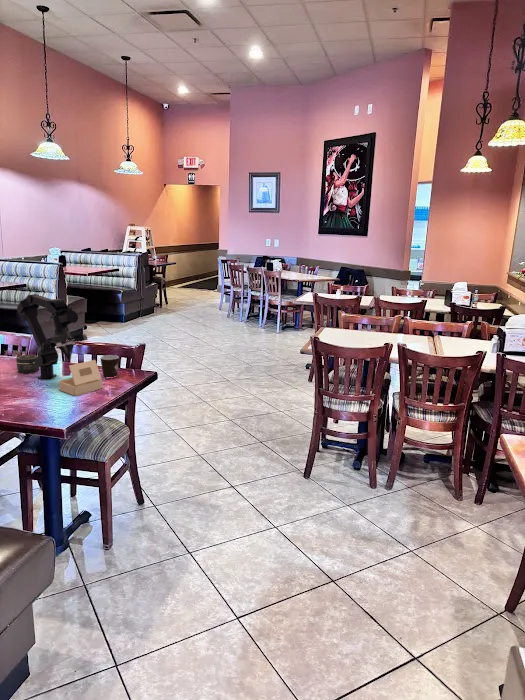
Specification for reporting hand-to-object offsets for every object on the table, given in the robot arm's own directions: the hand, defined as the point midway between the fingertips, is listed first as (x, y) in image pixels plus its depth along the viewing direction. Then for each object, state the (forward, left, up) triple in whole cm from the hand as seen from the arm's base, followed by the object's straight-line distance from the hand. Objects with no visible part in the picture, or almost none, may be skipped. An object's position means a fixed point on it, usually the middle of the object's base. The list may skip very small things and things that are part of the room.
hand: (69, 360), depth 228 cm
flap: (+8, +11, -8) cm, 16 cm away
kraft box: (+5, +6, -12) cm, 15 cm away
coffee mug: (-17, +14, -12) cm, 25 cm away
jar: (-19, -29, -13) cm, 37 cm away
